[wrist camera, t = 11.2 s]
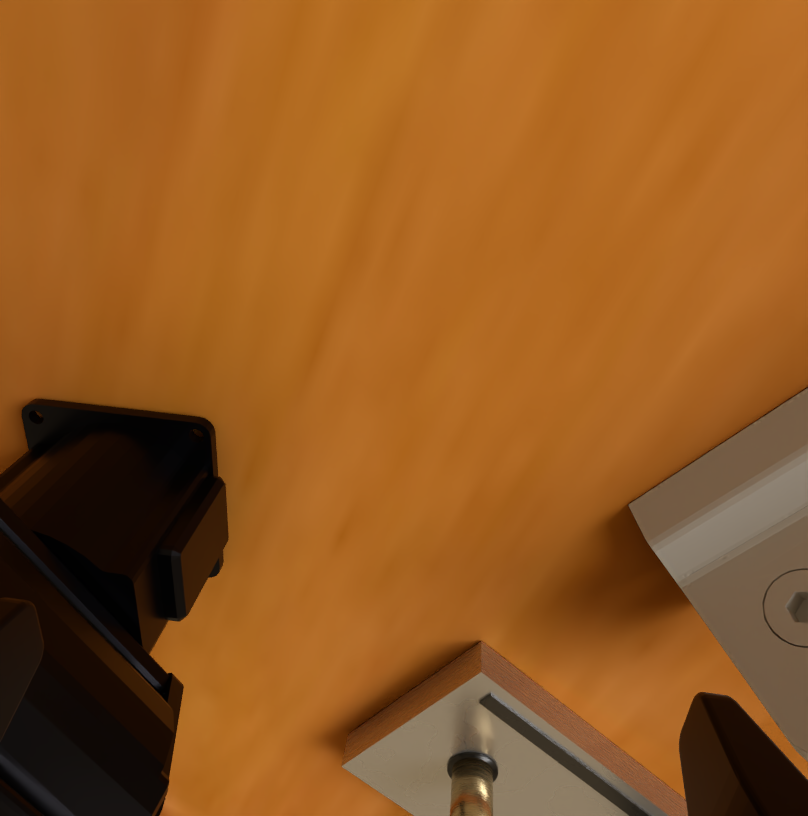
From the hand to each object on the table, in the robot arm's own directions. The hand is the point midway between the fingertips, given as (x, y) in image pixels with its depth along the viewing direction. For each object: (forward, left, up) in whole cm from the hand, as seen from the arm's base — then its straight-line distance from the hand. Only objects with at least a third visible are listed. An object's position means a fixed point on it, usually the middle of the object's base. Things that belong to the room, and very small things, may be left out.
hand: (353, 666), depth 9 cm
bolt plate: (+9, -22, -13) cm, 27 cm away
